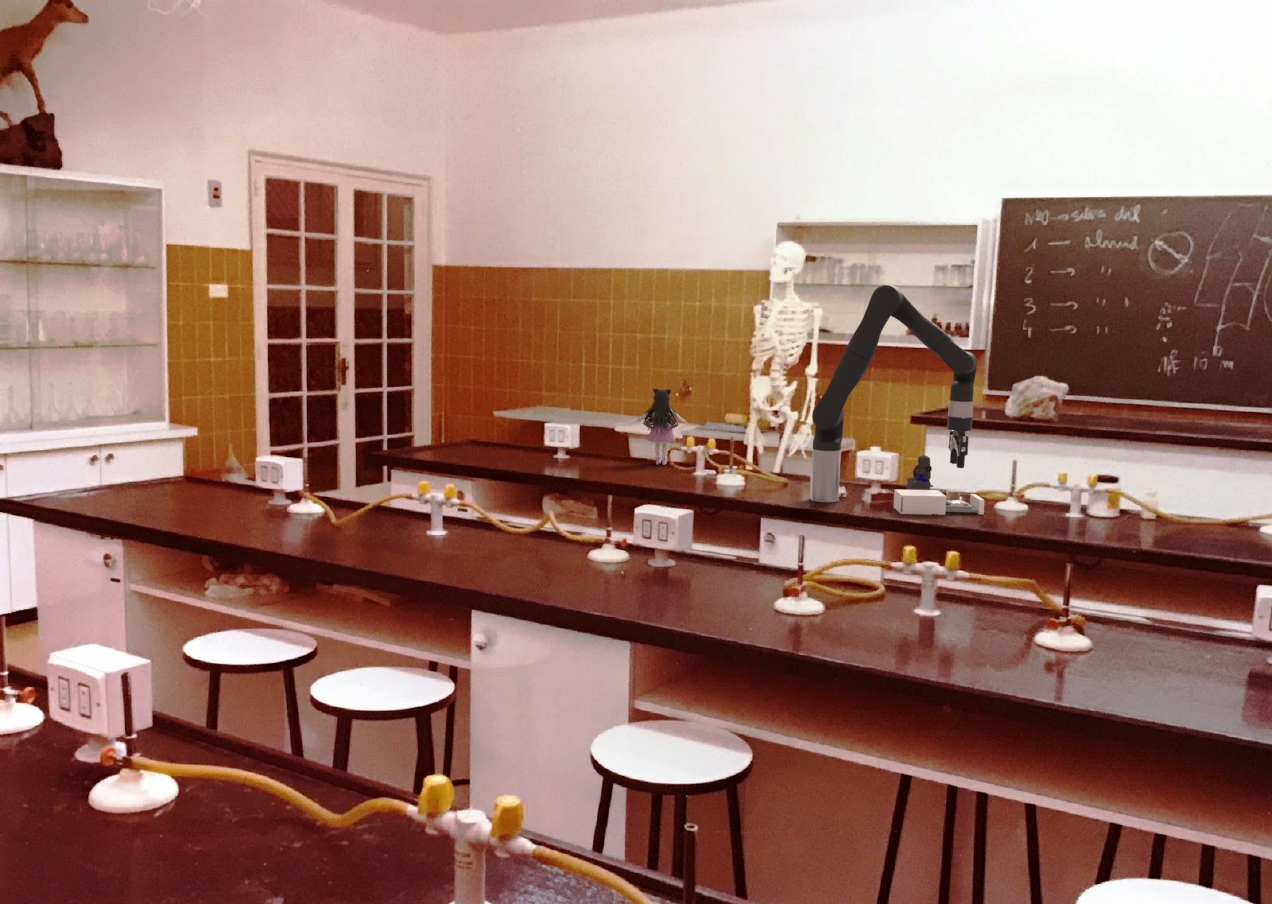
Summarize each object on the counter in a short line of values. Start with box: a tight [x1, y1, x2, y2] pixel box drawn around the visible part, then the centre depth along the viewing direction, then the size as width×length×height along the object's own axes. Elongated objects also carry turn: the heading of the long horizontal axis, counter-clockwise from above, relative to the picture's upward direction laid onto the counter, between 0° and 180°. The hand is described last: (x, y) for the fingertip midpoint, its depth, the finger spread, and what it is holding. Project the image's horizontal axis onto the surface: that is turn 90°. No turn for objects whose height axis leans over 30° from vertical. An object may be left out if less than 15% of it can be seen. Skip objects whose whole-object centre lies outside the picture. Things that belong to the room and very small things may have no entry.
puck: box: [946, 500, 967, 506], centre depth 364 cm, size 6×6×2 cm
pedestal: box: [945, 489, 961, 501], centre depth 373 cm, size 4×4×5 cm
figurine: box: [633, 388, 690, 466], centre depth 452 cm, size 22×10×30 cm, turn 77°
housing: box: [893, 489, 946, 516], centre depth 364 cm, size 14×11×6 cm
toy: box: [905, 455, 934, 490], centre depth 384 cm, size 11×10×15 cm
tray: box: [945, 493, 985, 515], centre depth 364 cm, size 16×11×5 cm, turn 89°
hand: (956, 465), depth 362 cm, fingers open, 8 cm apart
